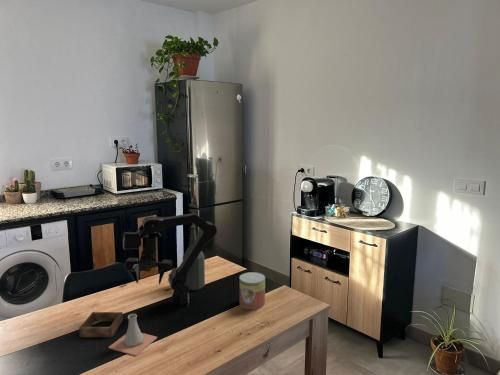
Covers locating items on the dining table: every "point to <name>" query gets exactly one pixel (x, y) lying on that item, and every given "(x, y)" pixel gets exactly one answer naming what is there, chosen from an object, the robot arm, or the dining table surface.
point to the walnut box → (101, 331)
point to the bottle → (195, 266)
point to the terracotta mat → (134, 349)
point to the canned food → (252, 290)
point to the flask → (133, 333)
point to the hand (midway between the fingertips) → (148, 283)
